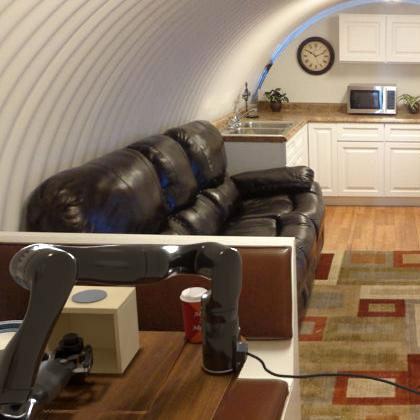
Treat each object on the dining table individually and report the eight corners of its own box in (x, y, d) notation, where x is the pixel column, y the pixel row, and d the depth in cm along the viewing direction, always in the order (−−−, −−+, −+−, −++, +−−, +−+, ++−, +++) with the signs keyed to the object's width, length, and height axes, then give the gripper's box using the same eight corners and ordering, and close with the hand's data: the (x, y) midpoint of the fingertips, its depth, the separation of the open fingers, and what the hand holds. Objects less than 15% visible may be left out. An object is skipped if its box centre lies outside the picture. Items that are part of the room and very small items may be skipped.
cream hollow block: (139, 350, 170) (135, 286, 165) (122, 376, 158) (117, 307, 152) (70, 349, 169) (63, 284, 164) (47, 375, 156) (39, 306, 151)
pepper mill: (90, 372, 154) (86, 331, 151) (80, 384, 149) (77, 341, 146) (68, 372, 153) (63, 330, 150) (58, 383, 148) (53, 341, 145)
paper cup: (202, 346, 174) (200, 299, 170) (176, 342, 176) (174, 295, 172) (215, 333, 182) (214, 288, 178) (191, 329, 183) (189, 284, 179)
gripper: (75, 370, 135) (106, 334, 151) (5, 369, 134) (44, 332, 150) (78, 401, 137) (108, 362, 153) (9, 400, 136) (47, 361, 152)
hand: (76, 347), depth 152 cm, fingers closed on pepper mill, 5 cm apart
